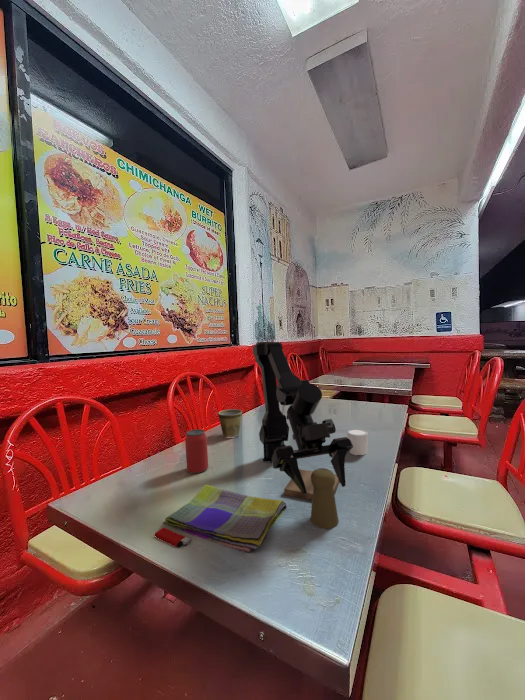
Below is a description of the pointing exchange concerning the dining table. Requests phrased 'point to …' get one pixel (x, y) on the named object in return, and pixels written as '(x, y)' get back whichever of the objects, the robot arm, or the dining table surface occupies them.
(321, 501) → the olive brown peg figure
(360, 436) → the white cylinder
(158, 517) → the dining table surface
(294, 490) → the walnut board
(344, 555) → the dining table surface
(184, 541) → the lighter
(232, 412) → the ceramic cup
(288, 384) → the robot arm
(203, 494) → the dish towel
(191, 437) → the beer can
